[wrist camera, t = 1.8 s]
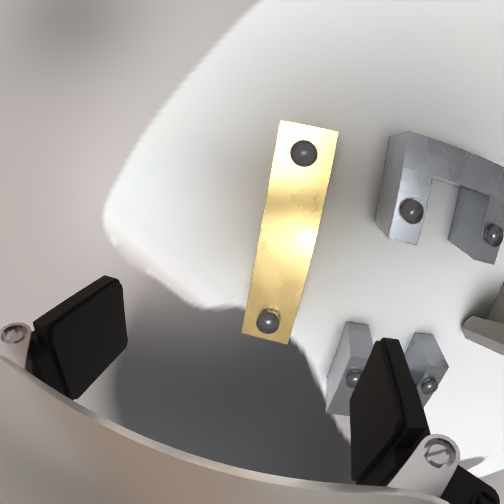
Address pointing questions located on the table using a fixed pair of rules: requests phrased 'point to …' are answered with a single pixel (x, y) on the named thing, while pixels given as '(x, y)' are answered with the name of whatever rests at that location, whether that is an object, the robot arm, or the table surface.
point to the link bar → (288, 228)
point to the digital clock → (488, 326)
